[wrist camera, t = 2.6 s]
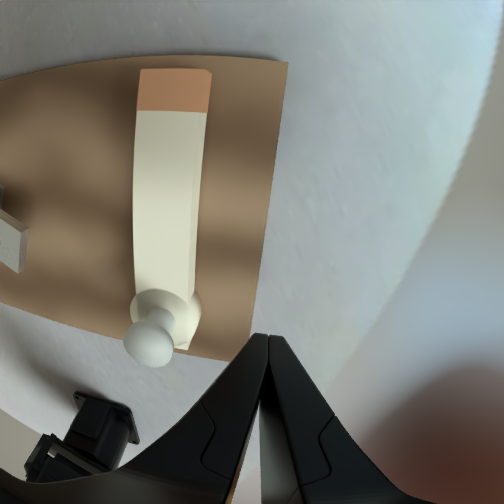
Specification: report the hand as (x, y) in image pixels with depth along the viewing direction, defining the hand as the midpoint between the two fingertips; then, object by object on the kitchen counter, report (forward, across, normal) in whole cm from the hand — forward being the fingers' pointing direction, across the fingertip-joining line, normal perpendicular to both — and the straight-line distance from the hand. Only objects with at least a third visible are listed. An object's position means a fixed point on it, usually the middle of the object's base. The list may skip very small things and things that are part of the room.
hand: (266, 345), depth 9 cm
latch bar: (+8, +5, -1) cm, 10 cm away
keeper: (+8, +18, 0) cm, 19 cm away
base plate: (+9, +11, 0) cm, 15 cm away
